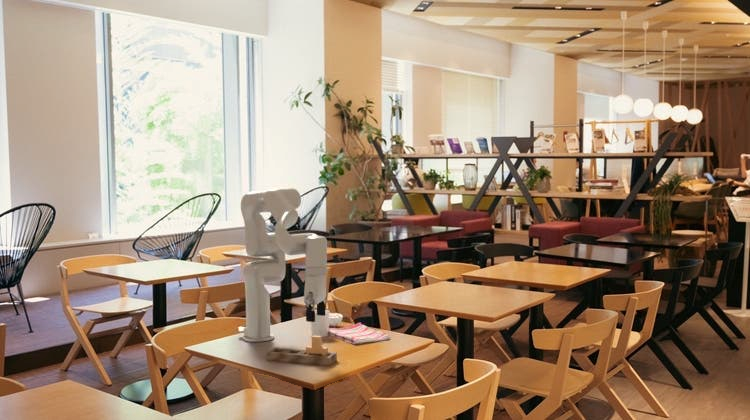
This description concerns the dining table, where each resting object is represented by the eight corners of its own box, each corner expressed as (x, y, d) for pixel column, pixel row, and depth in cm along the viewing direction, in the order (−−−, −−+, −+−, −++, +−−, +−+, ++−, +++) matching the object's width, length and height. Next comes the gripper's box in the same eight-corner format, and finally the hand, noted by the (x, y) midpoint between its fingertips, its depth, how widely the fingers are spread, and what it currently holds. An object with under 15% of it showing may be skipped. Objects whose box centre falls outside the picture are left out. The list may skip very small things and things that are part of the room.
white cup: (315, 338, 292) (314, 314, 291) (307, 334, 299) (307, 310, 298) (332, 336, 296) (332, 312, 295) (325, 332, 303) (324, 308, 302)
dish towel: (360, 329, 309) (359, 321, 309) (391, 340, 290) (391, 332, 290) (325, 335, 300) (325, 326, 299) (355, 346, 280) (355, 338, 280)
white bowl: (336, 330, 306) (336, 314, 306) (311, 327, 311) (311, 312, 310) (347, 325, 315) (347, 309, 315) (322, 322, 320) (322, 307, 320)
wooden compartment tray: (267, 360, 260) (267, 352, 260) (275, 355, 267) (275, 347, 266) (329, 366, 253) (329, 357, 253) (336, 360, 259) (336, 352, 259)
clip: (306, 361, 258) (305, 336, 257) (308, 359, 260) (308, 334, 259) (325, 362, 256) (325, 337, 255) (328, 361, 258) (327, 336, 257)
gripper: (315, 266, 265) (315, 312, 267) (296, 274, 249) (296, 323, 250) (334, 267, 263) (334, 313, 264) (316, 275, 246) (316, 325, 248)
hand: (315, 318), depth 257 cm, fingers open, 9 cm apart
